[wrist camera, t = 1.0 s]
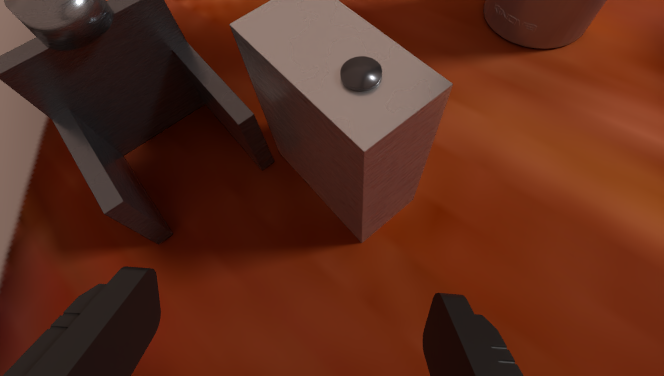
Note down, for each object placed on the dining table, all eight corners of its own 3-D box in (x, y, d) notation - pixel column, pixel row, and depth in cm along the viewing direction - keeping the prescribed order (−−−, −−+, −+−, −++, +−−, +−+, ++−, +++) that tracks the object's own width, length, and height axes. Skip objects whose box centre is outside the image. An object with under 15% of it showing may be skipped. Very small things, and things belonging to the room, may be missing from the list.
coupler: (197, 75, 32) (112, -74, 21) (274, 161, 28) (217, 29, 16) (93, 138, 30) (-64, 8, 19) (158, 244, 25) (-1, 155, 14)
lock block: (326, 118, 29) (307, -27, 18) (412, 200, 25) (454, 79, 14) (279, 152, 28) (227, 19, 17) (361, 243, 24) (364, 148, 13)
